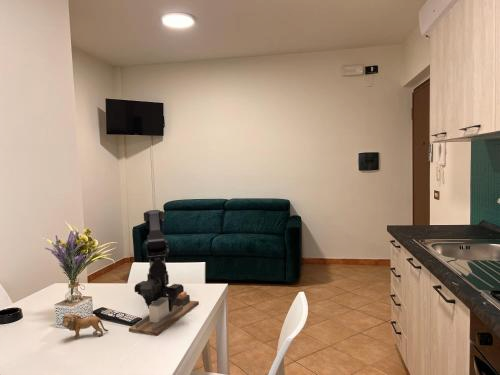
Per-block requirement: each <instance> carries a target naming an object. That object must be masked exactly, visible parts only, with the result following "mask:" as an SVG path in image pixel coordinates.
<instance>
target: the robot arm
mask: <svg viewBox="0 0 500 375" xmlns="http://www.w3.org/2000/svg"><path fill="white" fill-rule="evenodd" d="M164 216H165V214H164V211H163V210H160V209H151V210H146V212H143V222H144V223H145V226H146V228H147V229H148V231H149V234H148V235H147V240H146V241H145V251H146V253H145V254H146V257H145V258H146V259H147V260H148V259H149V260H148V261H149V268H148V273H147V274H146V275H147V276H146V277H147V280H141V281H140V282H138V283H136V284H135V285H134V288H133V289H134V293H137V295H139V296H141V297H142V298H143V300H144V302H145V304H146V306H147V309H148V310H149V306H150V304H151V303H153V302H155V301H156V300H158V299H160V298H161V297H162V298H168V306H169V312H171V311H172V308H173V306H174V303H175V300H176V298H177V296H178V295H179V294H181V293H182V292H185V289H184V285H183V284H182V283H181V284H180V283H173V284H171V285H169V284H170V281H169V279H170V278H169V272H168V271H169V270H167V265H166V257H168V256H169V254H170V251H169V250H170V249H169V247H170V246H169V242H168V240H167V239H165V235H164V232H161V228H162V227H163V221H164V220H165V217H164ZM168 285H169V286H168Z"/></svg>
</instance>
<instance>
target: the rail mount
mask: <svg viewBox="0 0 500 375" xmlns="http://www.w3.org/2000/svg"><path fill="white" fill-rule="evenodd" d="M190 297H191V296H190V294H187V296H186V297H185V298H183V299H180V298H176V300H175V303H174V306H173V308H172V311H171V313H170V314H168V315H167V316H166V317H164V318H163V319H161V320H160V321H158V322H157V323H156V322H150V318H149V314H148V315H147V316H145V317H143V318H142V319H141V320H139V321H137V322H136V323H135V324H133V325H132V326H130V327H129V328H128V332H130V333H136V334H144V335H149V336H154V337H155V336H156V337H157V336H159V335H160V334H161V333H163V332H164V331H165V330H167V329H168V328H169V327H170V326H172V325H174V324H175V323H177V321H179V320H180V319H181V318H183V317H184V316H185V315H186V314H188V313H189V312H190V311H192V310H193V309H194V308H196V307H197V306H198V305H199V300H198V301H196V300H191V298H190Z"/></svg>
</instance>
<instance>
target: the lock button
mask: <svg viewBox="0 0 500 375" xmlns="http://www.w3.org/2000/svg"><path fill="white" fill-rule="evenodd" d="M187 293H188V292H187V291H184V292H182V293H181V294H179V295H178V296H177V298H180V299H183V298H185V297H186V296H187V295H188V294H187Z"/></svg>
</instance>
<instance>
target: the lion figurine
mask: <svg viewBox="0 0 500 375" xmlns="http://www.w3.org/2000/svg"><path fill="white" fill-rule="evenodd" d="M61 321H62V322H61V324H62V326H63V327H64V328H65V329H68V330H69V331H74V332H75V334H74V340H75V341H77V340H78V339H80V332H81V330H86V329H89V328H90V327H92V328H93V329H94V330H93V332H92V333H93V334H97V333H98V332H100V333H99V334H98V336H99V337H102V336H103V335H104V331H105V332H106V333H107V332H109V329H106V328H105V327H104V324H103V321H102V320H101V318H99V317H98V316H95V315H94V316H91V317H81V315H77V314H74V313H67V314H64V316H62V320H61ZM99 323H100V324H99ZM100 326H101V327H100Z"/></svg>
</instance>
